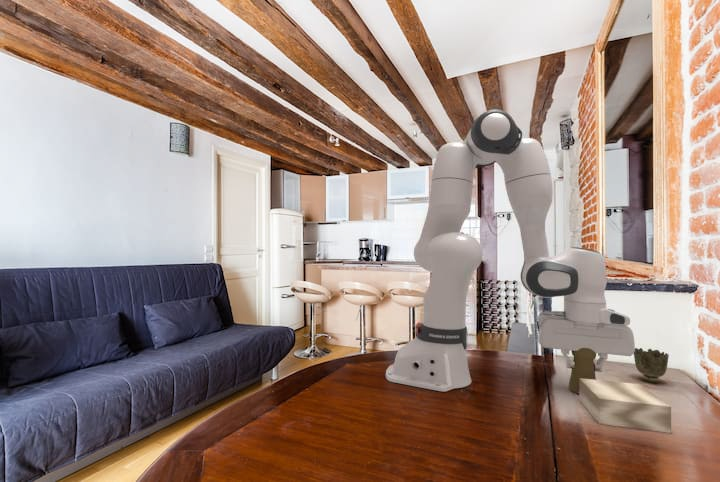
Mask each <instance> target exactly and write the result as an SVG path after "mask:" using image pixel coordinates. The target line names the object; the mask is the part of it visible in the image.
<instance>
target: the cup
mask: <svg viewBox="0 0 720 482" xmlns="http://www.w3.org/2000/svg"><path fill="white" fill-rule="evenodd" d="M669 357H670V356H669V353H668V352H666V353H665V352H664V351H662V352H660V350H659V349H655V350H652V348H648V349H647V351H646V350H644V349H643V348H642V347H640V348H638V347H637V348H636V347H635V352H634V353H633V358H634V364H635V368H636V370H637V371H638V372H639V373H640V374H642V376H641V378H642V380H644V381H645V382H648V383H653V384H657V383H659V382H660V377H663V376H665V374H666V372H667V368H668V363H669V362H668V361H669Z"/></svg>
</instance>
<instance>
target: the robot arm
mask: <svg viewBox="0 0 720 482" xmlns="http://www.w3.org/2000/svg"><path fill="white" fill-rule="evenodd" d="M495 163H496V164H498V166H499V168H501V170H502V174H503V178H504V185H505V190H506V195H507V199H508V201H509V203H510V206H511V210H512V212H513V214H514V216H515V219H516V222H517V224H518V227H519V231H520V238H521V245H522V249H523V257H524V258H523V264H522V267H521V271H520V282H521V284H522V286H523V288H524V289H525V290H526V291H528V293H531V294H533V295H536V296H538V297H540V298H545V299H546V298H547V299H548V298H549V299H550V298H556V297H563V311H560V310H553V311H552V310H549V309H548V310H544V311H542V312H540V313H539V314H538V316H537V325H538V326H539V329H538V335H537V336H538V337H537V342H538V344H539V345H540V346H541V347H542V348H544V349H552V350H554V349H555V350H560V353H561V354H562V356H563V357H564V359H565V367H566V368H567V369H571V370H572V369H574V365H575V362H574V361H573V360H574V359H570V358H569V355H570V353H571V352H570V351H571V350H572V351H578V350H579V349H581V348H589V349H592V350H593V351H594V352H595V353H596V354H597V356H598V357H599V358H598V359H597V361H596V362H595V361H594V369H595V372H598V373H602V372H603V365H604V364H605V363H606V362H607V360H608V358H609V357H608V355H612V356H621V357H622V356H624V357H632V356H634V352H635V348H636V347H635V344H636V343H635V337H634V336H635V335H634V332H633V329H632V328H631V327H629V325H630V324H631V318H630V317H629V316H628V315H626V314H624V313H621V312H617V311H616V310H614V309H610V308H607V300H606V296H605V290H606V287H607V267H606V266H607V265H606V260H605V258H604V255H603V254H602V253H601V252H599V251H597V250H594V249H590V248H587V247H586V248H585V247H578V246H577V247H576V246H573V247H572V246H571V247H568V249H566V250H564V251H562V252H560V253H558V254H556V255H553V256H550V252H549V246H548V240H547V233H546V222H547V221H546V220H547V216H548V213H549V210H550V208H551V205H552V204H553V195H554V194H553V193H554V192H553V191H554V190H553V189H554V188H553V187H554V186H553V180H552V179H553V178H552V175H551V174H552V173H551V170H550V166H549V165H550V164H549V162H548V159H547V156H546V153H545V150H544V148H543V147H542V144H541V142H540V141H539V140H537V139H535V138H532V137H523V132H522V130H521V129H520V128H519V127H518V125H517V123H516V122H515V121H514V119H513V117H512V116H511V114H509V113H507V112H506V111H504V110H503V109H495V108H494V109H489V110H487V111H484V112H483V113H481V114H480V115H479V116H478V117H477V118H476V119H475V120H474V121H473V123H472V125H471V128H470V129H469V131H468V133H467V135H466V137H465V139H464V140H462V141H450V142H448V143H445V144H443V145H442V146H440V148H439V149H438V151H437V154H436V157H435V161H434V163H433V164H434V165H433V170H432V174H431V175H432V176H431V184H430V193H429V201H428V208H427V213H426V216H425V219H424V223H423V226H422V230H421V233H420V237H419V239H418V241H417V242H416V244H415V245H414V249H413V256H414V257H413V258H414V260H415V262H416V263H417V265H419V266H420V267H421V268H423V270H425V271H428V272H430V273H431V275H430V280H429V285H428V287H427V289H426V291H425V292H424V293H423V313H422V315H423V319H422V320H423V322H421V321H420V322H419V321H418V322H416V324H415V327H414V328H415V337H414V338H412V339H411V340H410V341H408V342H407V343H406V344H404V345H402V347H401V348H399V349H398V351H397V352H396V355H395V356H394V357H395V358H394V363H392V364H390V365H389V366H388V367H387V369H386V370H385V378H386V380H387V381H388V382H391V383H397V384H400V385H401V384H402V385H407V386H411V387H416V388H420V389H426V390H432V391H438V392H448V391H451V390H454V389H460V388H465V387H468V386H470V385H471V384H472V378H471V375H470V369H469V363H468V358H467V348H468V338H469V337H468V328H467V326H466V317H467V316H466V311H467V295H468V291H469V288H470V287H469V286H470V283H471V280H472V277H473V275H474V272H476V270H477V269H479V267H480V265H481V264H482V260H483V256H484V255H483V254H484V253H483V248H482V246H481V244H480V242H479V240H478V239H476V238H475V237H474V236H472V235H469V234H467V233H464V232H461V230H462V227H463V225H464V223H465V221H466V219H467V218H468V217H469V215H470V213H471V206H472V195H473V187H474V173H475V170H476V169H479V168H484V167H489V166H491V165H493V164H495Z"/></svg>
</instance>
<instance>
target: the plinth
mask: <svg viewBox="0 0 720 482" xmlns="http://www.w3.org/2000/svg"><path fill="white" fill-rule="evenodd" d="M578 394H579V395H578V396H579V397H578V398H579V399H578V400H579V402H580V403H581V404H582V405H583V406H584V408H586V410H587V409H588V410H587V411H588V412H589V413H590V414H591V415H592V417H593V418H594V419H595V420H596V422H597V423H598V424H599V425H605V426H606V425H607V426H614V427H620V426H621V428H628V429H639V430H646V431H650V432H651V431H653V432H660V433H666V434H667V433H669V434H671V433H672V406H671V405H670V404H668V403H667V402H666V401H664V400H662V399H661V398H660V397H658V396H657V395H656V394H654V393H653V392H651V391H650V390H648V388H646V387H644V386H643V385H642V384H640V383H631V382H622V381H612V380H603V379H602V380H601V379H596V380H593V379H583V378H579V393H578Z"/></svg>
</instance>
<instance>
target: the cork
mask: <svg viewBox="0 0 720 482" xmlns="http://www.w3.org/2000/svg"><path fill="white" fill-rule="evenodd" d="M570 351H571V352H570V353H571V355H572V356H573V359H572V360H573V361H574V362H575V365H574V369H571V371H570V376H569V377H570V378H569V382H568V389H570V390H571V391H573V392H574V393H578V394H579V378H583V379H593V380H597V377H596V371H595V369H594V362H595V359H596V357H597V353H595V352H594V351H593V350H592V349H589V348H581V349H579V350H578V351H572V350H570Z"/></svg>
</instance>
